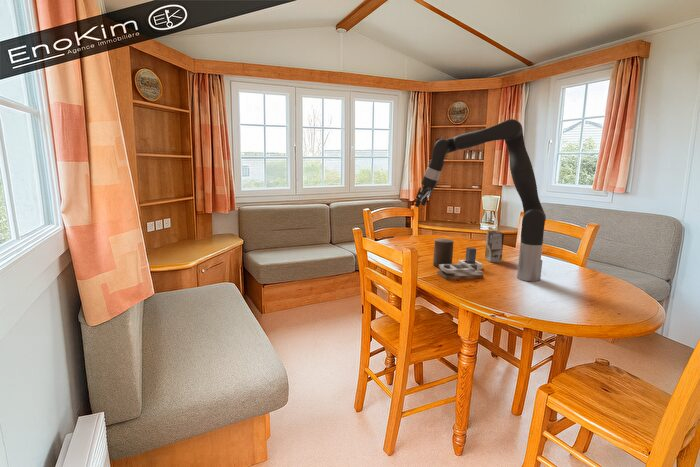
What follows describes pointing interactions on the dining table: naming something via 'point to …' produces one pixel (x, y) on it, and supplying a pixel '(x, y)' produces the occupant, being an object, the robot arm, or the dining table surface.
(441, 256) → the pillar candle
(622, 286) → the dining table surface
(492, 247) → the coffee box
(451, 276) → the grey slotted fixture
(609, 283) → the dining table surface
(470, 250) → the steel pin
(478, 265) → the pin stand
